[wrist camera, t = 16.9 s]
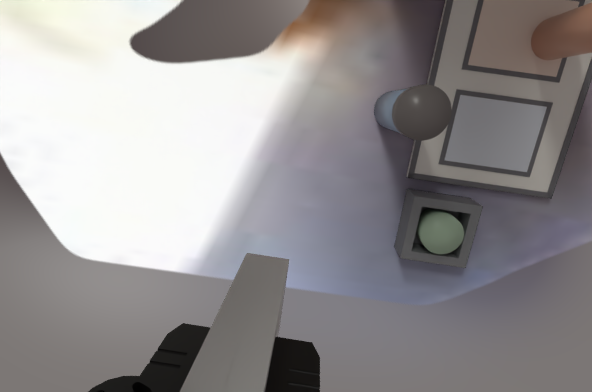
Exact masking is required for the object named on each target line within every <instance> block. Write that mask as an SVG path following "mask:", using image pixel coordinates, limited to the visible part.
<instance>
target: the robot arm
mask: <svg viewBox="0 0 592 392" xmlns="http://www.w3.org/2000/svg"><path fill="white" fill-rule="evenodd" d="M288 264H289V259H283V258H277V257H270V256H264V255H257V254H251V253H247V254H246V256H245V258H244V260H243V262H242V264H241V266H240V268H239V270H238V272H237V274H236V276H235V279H234V281H233V283H232V285H231V287H230V289H229V291H228V293H227V295H226V298H225V299H224V301H223V303H222V305H221V308H220V310H219V312H218V314H217V316H216V318H215V320H214V322H213V324H212V326H211V328H209V327H203V326H196V325H190V324H184V323H183V324H181V325H180V326H178V327H177V328H175V329H174V330H173V331H171V332H170V333H168V334H167V336H166V337H165V338H164V340H163V342H162V343H161V345H160V346H159V348H158V351H156V352H155V354H154V355H153V357H152V358H151V360H150V363H149V364H147V366H146V367H145V369H144V370H143V372H142V373H141V375H140V376H122V377H118V378H114V379H110V380H107V381H105V382H103V383H101V384H99V385H97V386H95V387H94V388H92V389H91V390H90V391H89V392H320V390H319V389H320V376H319V375H320V357H319V355H318V353H317V351H316V349H315V347H314V346H313V344H312V342H305V341H299V340H292V339H286V338H280V337H278V333H279V327H280V320H281V313H282V306H283V299H284V292H285V285H286V278H287V271H288Z"/></svg>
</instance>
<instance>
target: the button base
mask: <svg viewBox="0 0 592 392" xmlns="http://www.w3.org/2000/svg"><path fill="white" fill-rule="evenodd" d="M431 208H435V209H442V210H446V211H448V212H449V213H450V214H451V215H452V216H454V217H455V218H456V219H457V220H458V221H459V222H460V223H461V225H462V226H463V230H464V237H463V240H462V242H461V244H460V245H459V247H458V248H457V249H455V250H454V251H452V252H450V253H447V254H435V253H432V252H430V251H429V250H428V249H427V248H426V247H425V246H424V245H423V243H422V242H421V241H420V239H419V238H418V237H417V235H416V230H417V226H418V221H419V217H420V214H421V213H422V212H424V211H425V210H428V209H431ZM482 208H483V206H482V205H480V204H479V203H477V202H475V201H474V200H472V199H471V198H466V197H460V196H453V195H446V194H439V193H432V192H426V191H419V190H412V189H407V192H406V196H405V201H404V205H403V209H402V214H401V218H400V223H399V227H398V232H397V236H396V241H395V245H394V247H395V249H396V251H397V253H398V255H399V256H400V258H402V259H409V260H415V261H422V262H428V263H435V264H441V265H448V266H455V267H461V268H466V264H467V261H468V257H469V254H470V250H471V247H472V243H473V240H474V236H475V232H476V229H477V225H478V222H479V218H480V215H481V211H482Z"/></svg>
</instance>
